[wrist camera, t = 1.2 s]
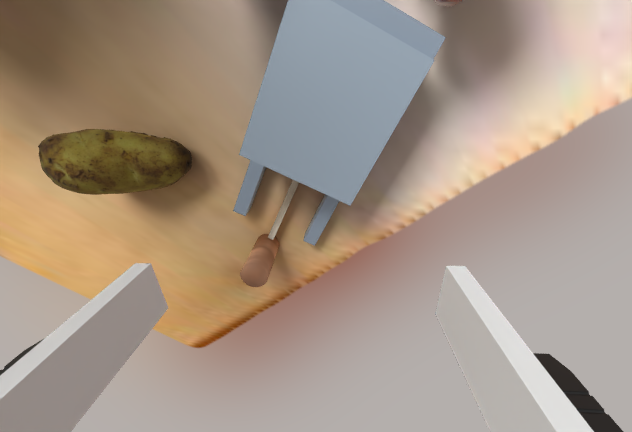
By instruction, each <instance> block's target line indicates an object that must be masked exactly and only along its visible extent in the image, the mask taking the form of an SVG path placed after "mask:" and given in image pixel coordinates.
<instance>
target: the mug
mask: <svg viewBox="0 0 632 432" xmlns="http://www.w3.org/2000/svg"><path fill="white" fill-rule="evenodd" d="M434 1H435V3H437V4H438V5H442V6H454V5H456V4H458V3H460V2H462V1H463V0H434Z"/></svg>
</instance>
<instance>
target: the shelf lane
mask: <svg viewBox="0 0 632 432" xmlns="http://www.w3.org/2000/svg"><path fill="white" fill-rule="evenodd" d="M445 38H446V37H444V36H443V35H441V34H439V33H437V32H436V31H434V30H432V29H431V28H429V27H427V26H426V25H424V24H422V23H421V22H419V21H417V20H416V19H414V18H412V17H411V16H409V15H407V14H406V13H404V12H402V11H401V10H399V9H397V8H396V7H394V6H392V5H390V4H389V3H387V2H385V1H384V0H288V2H287V5H286V8H285V12H284V15H283V18H282V21H281V24H280V27H279V30H278V34H277V37H276V40H275V43H274V46H273V49H272V53H271V56H270V59H269V62H268V65H267V68H266V71H265V75H264V78H263V81H262V84H261V87H260V90H259V94H258V97H257V100H256V103H255V106H254V109H253V112H252V116H251V119H250V122H249V125H248V128H247V131H246V134H245V138H244V141H243V144H242V147H241V150H240V153H239V155H241V156H243V157H245V158H247V159H249V160H251V161H250V164H249V166H248V169H247V172H246V175H245V178H244V181H243V184H242V187H241V190H240V193H239V196H238V199H237V202H236V204H235V207H234V210H233V211H235V212H237V213H239V214H242V215H244V216H246V215H247V213H248V212H249V210H250V209H251V206H252V203H253V201H254V198H255V195H256V193H257V190H258V187H259V185H260V182H261V179H262V177H263V174H264V171H265V169H266V167H267V168H269V169H271V170H273V171H275V172H278V173H280V174H282V175H284V176H286V177H289V178H291V179H293V180H295V181H297V182H299V183H302V184H304V185H306V186H308V187H310V188H312V189H315V190H317V191H319V192H321V193H323V194H325V196H324V198H323V199H322V201H321V203H320V205H319V207H318V209H317V211H316V213H315V215H314V217H313V219H312V221H311V223H310V225H309V227H308V229H307V230H306V232H305V236H304V241H305V242H307V243H310V244H312V245H314V246H315V244H316V242H317V241H318V239H319V237H320V235H321V233H322V232H323V230H324V228H325V226H326V224H327V222H328V221H329V219H330V217H331V215H332V213H333V212H334V210H335V208H336V206H337V204H338V203H339V201H341V202H343V203H345V204H347V205H351V204H352V202H353V200H354V198H355V197H356V195H357V193H358V191H359V190H360V188H361V186H362V185H363V183H364V181H365V179H366V178H367V176H368V174H369V173H370V171H371V169H372V167H373V166H374V164H375V162H376V160H377V159H378V157H379V155H380V154H381V152H382V150H383V148H384V147H385V145H386V143H387V141H388V140H389V138H390V136H391V135H392V133H393V131H394V129H395V128H396V126H397V124H398V123H399V121H400V119H401V117H402V116H403V114H404V112H405V110H406V109H407V107H408V105H409V104H410V102H411V100H412V98H413V97H414V95H415V93H416V92H417V90H418V88H419V86H420V85H421V83H422V81H423V79H424V78H425V76H426V74H427V73H428V71H429V69H430V67H431V66H432V64H433V62H434V60H433V59H434V57H435V55H436V54H437V52H438V50H439V48H440V47H441V45H442V43H443V41H444V40H445Z"/></svg>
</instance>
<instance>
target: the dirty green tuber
mask: <svg viewBox="0 0 632 432" xmlns="http://www.w3.org/2000/svg"><path fill="white" fill-rule="evenodd" d="M38 147H39V157H40V162H41V166H42V169H43V171H44V172H45V173H46V175H47V176H48V177H49V178H51V180H52V181H53V182H54V183H55V184H57V185H58V186H60V187H62V188H64V189H67V190H70V191H73V192H77V193H82V194H120V193H130V192H138V191H146V190H152V189H158V188H162V187H166V186H169V185H172V184H173V183H175V182H177V181H178V180H179V179H180V178H181V177H182V176H183V175H184V174H185V173H187V172H188V171H189V170H190V168H191V164H192V157H191V153H190V151H188V150H187V148H185V147H184V146H183V145H182V144H180V143H178V142H177V141H174V140H172V139H168V138H165V137H164V138H159V137H156V136H152V135H151V136H148V135H147V134H145V133H136V132H132V131H131V132H125V131H115V130H101V129H86V130H81V131H77V132H71V133H63V134H57V135H52V136H50V137H47V138H46V139H45V140H43V141H42V142H41V144H40V145H39V146H38Z"/></svg>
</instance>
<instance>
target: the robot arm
mask: <svg viewBox="0 0 632 432" xmlns="http://www.w3.org/2000/svg"><path fill="white" fill-rule="evenodd" d="M167 309H168V306H167V303H166V300H165V298H164V295H163V293H162V290H161V288H160V285H159V283H158V280H157V278H156V275H155V273H154V270H153V268H152V265H151V263H135V264H134V265H133V266H131V267H130V268H129V269H128V270H127V271H125V272H124V273H123V274H122V275H121V276H119V277H118V278H117V279H116V280H115V281H113V282H112V283H111V284H110V285H109V286H107V287H106V288H105V289H104V290H103V291H101V292H100V293H99V294H98V295H97V296H95V297H94V298H93V299H92V300H91V301H89V302H88V303H87V304H86V305H85V306H84V307H82V308H81V309H80V310H79V311H77V312H76V313H75V314H74V315H73V316H71V317H70V318H69V319H68V320H66V322H64V323H63V324H62V325H61V326H59V327H58V328H57V329H56V330H54V331H53V332H52V333H51V334H50V335H48V337H46V338H45V339H43V340H41V341H39V342H38V343H36V344H34V345H33V346H31V347H29V348H28V349H26V350H25V351H23V352H22V353H21V354H19V355H18V356H17V357H16V358H15V359H13V360H12V361H11V362H10V363H8V364H7V365H6V366H5V368H4V369H3V370H0V432H71V431H72V430H73V428H74V427H75V426H76V424H77V423H78V422H79V421H80V419H81V418H82V417H83V416H84V414H85V413H86V412H87V410H88V409H89V408H90V407H91V405H92V404H93V403H94V402H95V400H96V399H97V398H98V397H99V395H100V394H101V393H102V392H103V390H104V389H105V388H106V386H107V385H108V384H109V383H110V381H111V380H112V379H113V378H114V376H115V375H116V374H117V372H118V371H119V370H120V368H121V367H122V366H123V365H124V364H125V362H126V361H127V360H128V359H129V357H130V356H131V355H132V353H133V352H134V351H135V350H136V348H137V347H138V346H139V345H140V343H141V342H142V341H143V340H144V338H145V337H146V336H147V334H148V333H149V332H150V331H151V329H152V328H153V327H154V326H155V324H156V323H157V322H158V321H159V319H160V318H161V317H162V315H163V314H164V313H165V312H166V310H167ZM435 315H436V317H437V319H438V321H439V323H440V325H441V327H442V330H443V332H444V334H445V336H446V338H447V340H448V343H449V345H450V347H451V349H452V351H453V353H454V355H455V358H456V360H457V362H458V364H459V366H460V368H461V370H462V373H463V374H464V377H465V379H466V381H467V383H468V385H469V387H470V390H471V392H472V394H473V396H474V398H475V400H476V403H477V405H478V407H479V409H480V411H481V413H482V415H483V418H484V420H485V422H486V424H487V426H488V428H489V430H490V432H623V431H622V430H621V429H620V427H619V426H618V425H617V424H616V423H615V422H614V420H613V419H612V418H611V417H610V416H609V415H607V414H606V413H605V412H604V409H603V408H602V407H601V406H600V404H599V403H598V402H597V401H596V400H595V399H594V397H593V396H590V395H589V392H588V390H587V389H586V388H585V387H584V386H583V385H582V384H581V382H580V381H579V380H578V379H577V378H576V377H575V375H574V374H573V373H572V372H571V371H570V370H569V369H567V368H566V367H565V366H564V365H562V364H561V363H560V362H559V361H557V360H556V359H555V358H553V357H552V356H551V355H550V354H533V353H532V351H531V350H530V349H529V348H528V346H527V345H526V344H525V343H524V341H523V340H522V339H521V337H520V336H519V335H518V333H517V332H516V331H515V330H514V328H513V327H512V326H511V324H510V323H509V322H508V321H507V319H506V318H505V317H504V315H503V314H502V313H501V312H500V310H499V309H498V308H497V307H496V305H495V304H494V303H493V301H492V300H491V299H490V297H489V296H488V295H487V294H486V292H485V291H484V290H483V288H482V287H481V286H480V285H479V284H478V282H477V281H476V279H475V278H474V277H473V276H472V274H471V273H470V272H469V271H468V269H467V268H466V267H465V266H446V269H445V273H444V277H443V282H442V286H441V290H440V295H439V299H438V304H437V308H436V312H435Z"/></svg>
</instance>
